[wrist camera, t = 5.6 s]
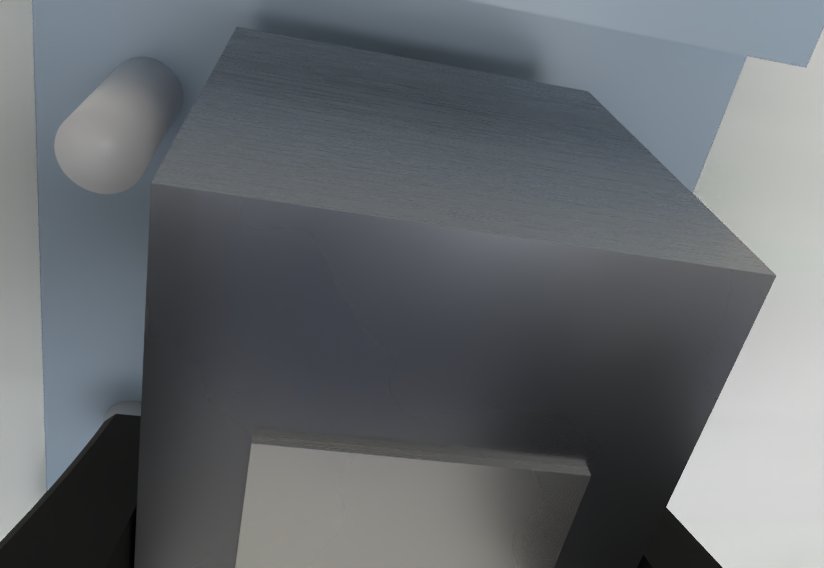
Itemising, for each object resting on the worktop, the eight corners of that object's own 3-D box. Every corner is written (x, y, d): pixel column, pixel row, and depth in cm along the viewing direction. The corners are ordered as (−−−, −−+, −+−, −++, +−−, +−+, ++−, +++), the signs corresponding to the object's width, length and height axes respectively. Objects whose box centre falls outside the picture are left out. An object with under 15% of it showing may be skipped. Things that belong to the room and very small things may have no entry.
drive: (452, 530, 14) (506, 853, 9) (193, 510, 13) (120, 848, 9) (588, 90, 10) (783, 282, 6) (237, 26, 9) (147, 189, 5)
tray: (520, 567, 18) (558, 714, 15) (64, 535, 16) (2, 692, 13) (768, -93, 12) (924, -70, 8) (51, -261, 10) (-77, -311, 7)
